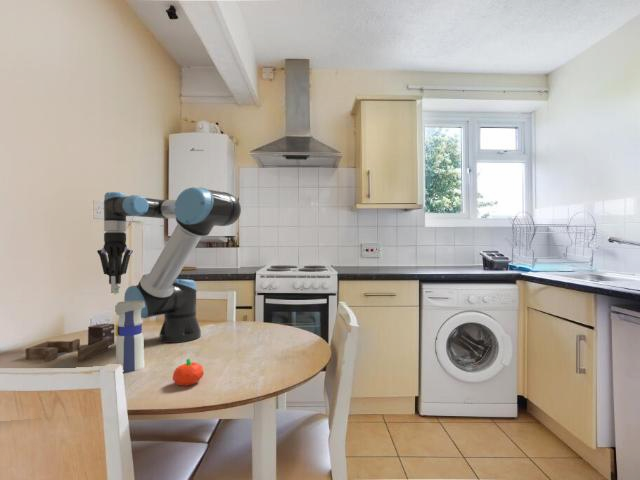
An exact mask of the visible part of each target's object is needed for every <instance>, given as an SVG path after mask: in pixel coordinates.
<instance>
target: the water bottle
mask: <svg viewBox="0 0 640 480" xmlns="http://www.w3.org/2000/svg"><path fill="white" fill-rule="evenodd" d="M120 288H121V286H120V285H119V286H118V283H117V285H116V287H115V288H114V289H115V293H114V295H117V294H119V293H120ZM118 289H119V291H118ZM144 307H145V303H144V301H119V302H117V303H116V304H115V306H114V312H115V313H116V316H119V317H118V320H117V322H116V324H115V336H116V341H115V364H121V365H122V366H123V370H124V372H123V373H131V372H135V371H140V370H142V369H144V368H145V352H144V350H145V348H144V347H145V346H144V343H145V342H144V339H145V338H144V333H143V330H142V326H143V323H144V320H143V318H141V310H142V308H144Z"/></svg>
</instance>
